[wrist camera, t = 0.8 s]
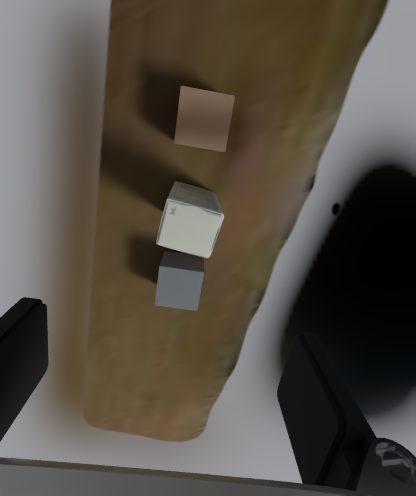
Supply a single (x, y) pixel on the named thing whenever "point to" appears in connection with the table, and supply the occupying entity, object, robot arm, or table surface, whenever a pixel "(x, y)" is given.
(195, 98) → the tan cube
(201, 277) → the grey cube
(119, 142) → the table surface
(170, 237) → the box
